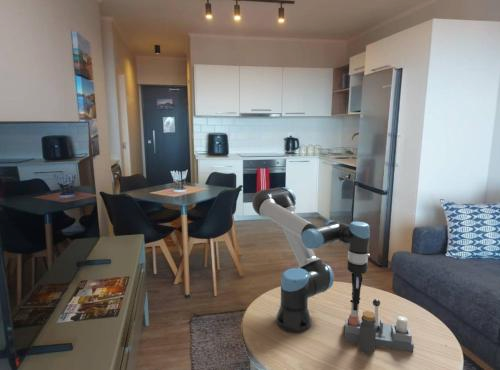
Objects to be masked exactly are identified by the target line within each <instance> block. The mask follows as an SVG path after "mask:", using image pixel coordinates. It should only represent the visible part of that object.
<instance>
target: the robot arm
mask: <svg viewBox="0 0 500 370" xmlns="http://www.w3.org/2000/svg"><path fill="white" fill-rule="evenodd" d="M296 200H297V197H296V195H295V193H294V192H293V190H292V189H291V188H289V187H286V186H285V187H284V186H278V187H274V188H267V189H261V190H259V191H258V192H256V193H255V194H254V196H253V198H252V202H251V203H252V209H253V210H254V212H255V213H256V214H257V215H258V216H260V217H262V218H264V219H269V220H271V221H273V222H274V223H275V224H277V225H279V226H281V228H282V230H283V232H284V234H285V237H286V238H287V241H288V243H289V245H290V247H291V249H292V252H293V254H294V256H295V258H296V260H297V262H298V267H296V268H295V267H292V268H289V269H287V270H285V271H283V272H282V274H281V277H280V279H281V280H280V305H279V307H278V312H277V314H276V318H275V319H276V320H275V322H276V326H278V328H280V329H281V330H283V331H284V332H287V333H292V334H300V333H304V332H306V331H308V330H309V329H310V328H311V326H312V319H311V314H310V312H309V308H308V304H309V303H308V302H309V298H311V297H314V296H316V295H319V294H321V293H324V292H326V291H328V290H330V289H331V288H332V287H333V285H334V281H335V275H334V272H333V269H332V267H331V266H330V265H328V264H326V263H324V262H323V261H322V259H321V258H319V257H318V256H316V254H315V252H314V249H318V248H320V247H323V246H326V245H330V244H333V243H337V242H340V243H343V244H346V245H348V249H347V271H349V272H350V273H351V286H352V288H351V292H352V293H351V299H350V301H349V302H350V303H351V306H350V307H351V308H350V314H351V316H352V317H358V316H359V310H360V309H359V307H360V306H359V305H360V301H361V296H360V295H361V287H362V282H363V275H364V274H366V273H367V272H368V261H369V257H370V256H371V255H370V253H369V247H370V246H369V245H370V238H371V233H370V231H371V230H370V227H371V226H370V224H369V223H366V222H364V221H351V222H350V224H347V223H343V222H341V221H337V220H331V219H330V220H327V221H326V222H325V223H324V225H321V226H318V225H316V224H315V223H312V222H310V221H308V220H307V219H305V218H303V217H301V216H299V215H298V214H296V212H295V211H296V204H297V201H296Z"/></svg>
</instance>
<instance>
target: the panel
mask: <svg viewBox="0 0 500 370" xmlns="http://www.w3.org/2000/svg"><path fill="white" fill-rule="evenodd" d="M344 322H345V323H344V325H345V326H344V327H345V329H344V330H345V333H344V335H345V341H346V342H350V343H356V344H359V334H360V323H361V322H362V319H360V318H359V327H357V326H350V325H349V317H345V320H344ZM378 326H379V330H377V329H376V339H375V347H379V348H380V347H381V348H387V349H393V350H400V351H404V352H405V351H406V352H414V349H415V347H414V346H415V345H414V341H413V336H412V333H411V330H410V326H407V333H405V334H403V333H399V332H397V331H396V324H393V323H390V324H389V323H384V320H383V317H380V318H379V322H378Z"/></svg>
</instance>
